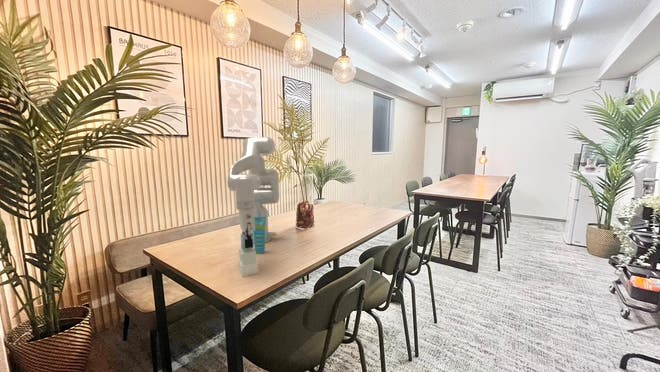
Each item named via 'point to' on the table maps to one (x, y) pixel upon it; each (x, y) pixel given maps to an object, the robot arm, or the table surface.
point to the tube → (259, 234)
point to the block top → (247, 256)
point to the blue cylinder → (244, 241)
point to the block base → (248, 268)
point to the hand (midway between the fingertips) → (247, 245)
